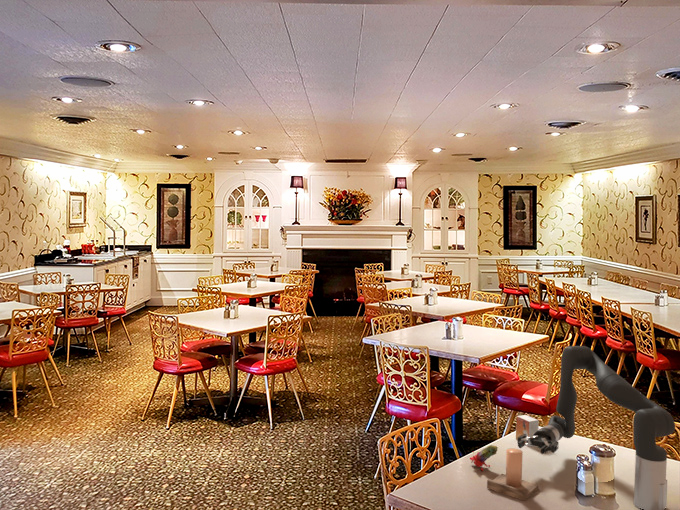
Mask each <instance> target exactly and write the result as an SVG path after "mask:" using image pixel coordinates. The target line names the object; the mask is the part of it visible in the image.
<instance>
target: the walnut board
mask: <svg viewBox="0 0 680 510" xmlns="http://www.w3.org/2000/svg"><path fill="white" fill-rule="evenodd" d="M486 481H487V483H486V489H487V488H489V489H488V490H490V489H492V490H491V491H493V490H494V491H493V492H497V493H499V494H503V495H506V496H509V497H512V498H515V497H516V498H515V499H518V498H519V499H518V500H521V499H522V501H524V500H525V501H526V500H528V499H529V498H530V497H531V496H532V495H534V494H535V493H536V492H537V491H538V490H539V484H537V483H533V482H530V481H528V480H523V479H522V486H521V487H517V488H515V487H511V486H508V485H506V474H504V473H501V474H499V475H498V476H496V477H495V478H494V479H487V480H486Z"/></svg>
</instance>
